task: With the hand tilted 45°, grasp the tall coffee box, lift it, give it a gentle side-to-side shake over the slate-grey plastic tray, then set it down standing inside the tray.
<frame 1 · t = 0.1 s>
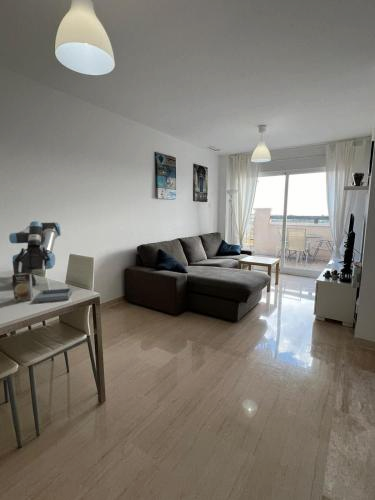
hand: (31, 271, 165), 15 cm above the table, tool tilted 35°, fingers open, 13 cm apart
coffee box: (24, 300, 156), on the table
tray: (54, 297, 160), on the table
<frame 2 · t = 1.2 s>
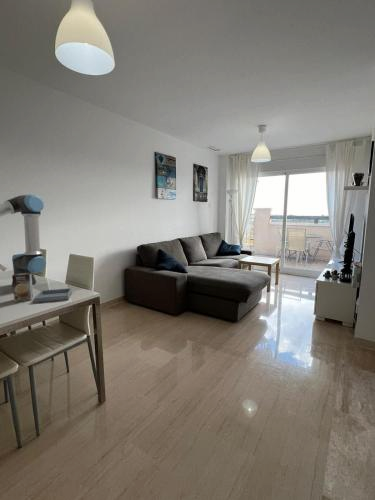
hand: (1, 272, 150), 18 cm above the table, tool tilted 45°, fingers open, 13 cm apart
nothing on the table moved.
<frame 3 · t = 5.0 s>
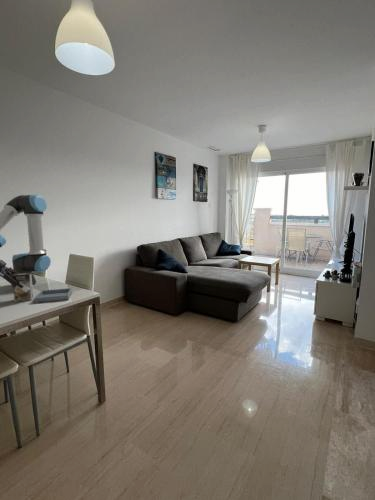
hand: (29, 288, 156), 6 cm above the table, tool tilted 45°, fingers closed on coffee box, 7 cm apart
coffee box: (24, 300, 156), on the table, touching gripper
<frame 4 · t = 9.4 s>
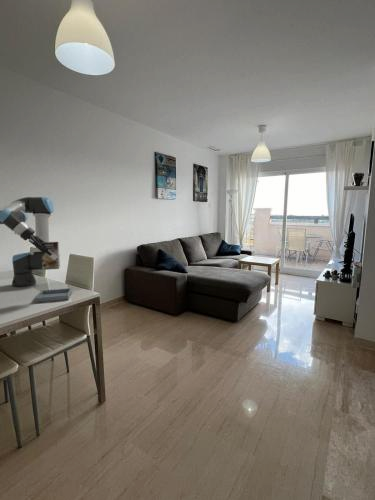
hand: (57, 257, 156), 25 cm above the table, tool tilted 45°, fingers closed on coffee box, 7 cm apart
coffee box: (51, 268, 156), point 18 cm above the table, touching gripper
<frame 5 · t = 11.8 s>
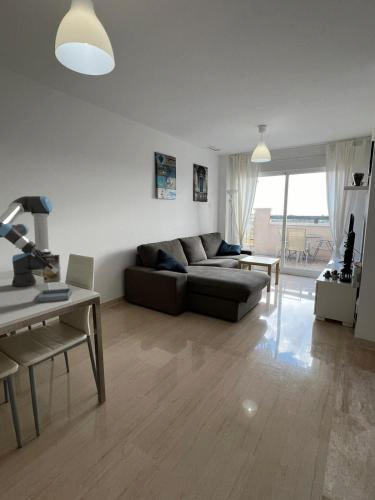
hand: (58, 270, 157), 17 cm above the table, tool tilted 45°, fingers closed on coffee box, 7 cm apart
coffee box: (52, 281, 157), point 10 cm above the table, touching gripper
when the fingers open (9 cm above the table, at t = 13.7 s): coffee box drops 1 cm, resting on tray.
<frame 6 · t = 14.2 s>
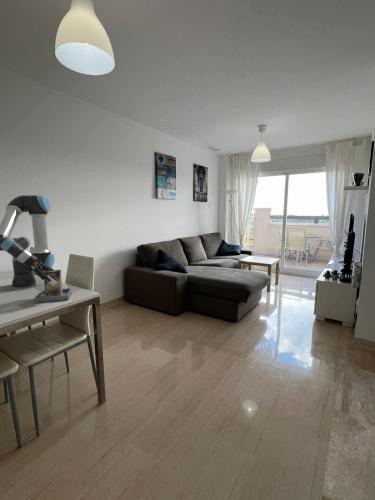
hand: (57, 281, 159), 10 cm above the table, tool tilted 45°, fingers open, 13 cm apart
coffee box: (54, 296, 159), point 1 cm above the table, touching tray
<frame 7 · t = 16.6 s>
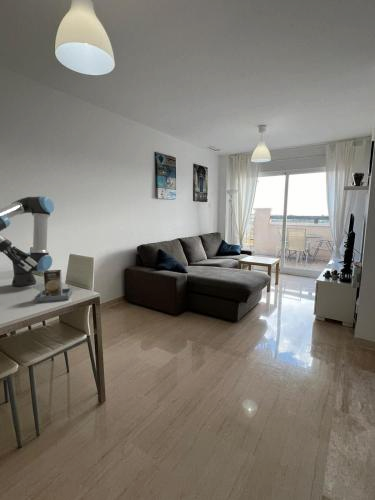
hand: (33, 267, 154), 20 cm above the table, tool tilted 45°, fingers open, 13 cm apart
nothing on the table moved.
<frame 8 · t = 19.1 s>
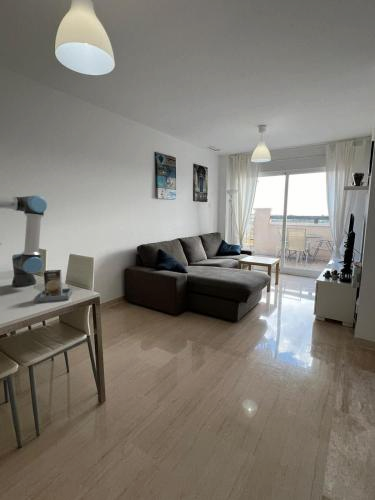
nothing on the table moved.
at the end: coffee box inside the target area on the tray (0.2 cm from its centre), point 0.6 cm above the tray's base; coffee box tilted 0°; the gripper is holding nothing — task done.
